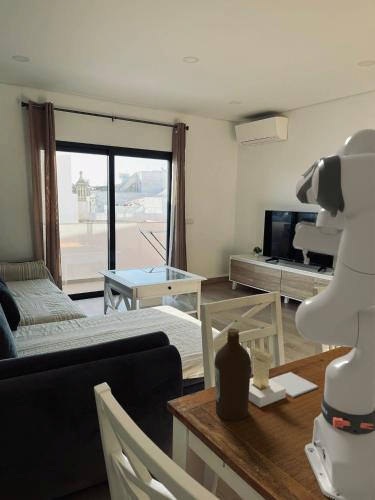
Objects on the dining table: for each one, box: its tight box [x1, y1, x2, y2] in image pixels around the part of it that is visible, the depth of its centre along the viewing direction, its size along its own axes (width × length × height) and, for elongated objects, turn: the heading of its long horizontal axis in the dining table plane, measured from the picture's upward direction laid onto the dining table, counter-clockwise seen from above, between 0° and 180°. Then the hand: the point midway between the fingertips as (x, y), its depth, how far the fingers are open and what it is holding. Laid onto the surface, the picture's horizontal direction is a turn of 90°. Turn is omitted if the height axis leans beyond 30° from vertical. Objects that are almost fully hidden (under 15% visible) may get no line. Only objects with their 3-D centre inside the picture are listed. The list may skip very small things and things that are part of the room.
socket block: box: [248, 377, 287, 408], centre depth 116 cm, size 11×11×3 cm
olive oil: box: [213, 327, 252, 421], centre depth 105 cm, size 11×11×25 cm
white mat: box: [269, 371, 319, 398], centre depth 123 cm, size 12×12×1 cm
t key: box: [250, 346, 274, 391], centre depth 115 cm, size 8×3×14 cm, turn 32°
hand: (321, 266), depth 114 cm, fingers open, 8 cm apart
